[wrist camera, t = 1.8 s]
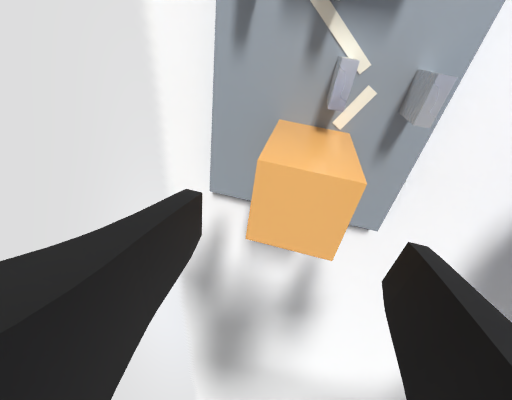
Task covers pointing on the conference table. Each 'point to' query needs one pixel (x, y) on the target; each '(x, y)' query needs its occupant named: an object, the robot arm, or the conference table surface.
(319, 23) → the board
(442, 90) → the clips
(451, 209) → the conference table surface
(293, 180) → the block
